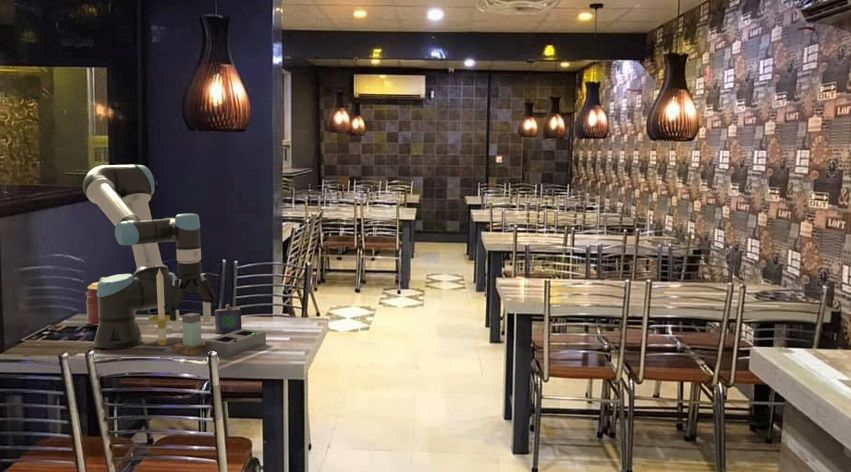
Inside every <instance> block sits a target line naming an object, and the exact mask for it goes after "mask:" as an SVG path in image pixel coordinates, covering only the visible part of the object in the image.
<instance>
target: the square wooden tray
mask: <svg viewBox="0 0 851 472" xmlns="http://www.w3.org/2000/svg"><path fill="white" fill-rule="evenodd" d="M171 352H172V353H174V354H175V353H176V354H181V355H187V356H193V357H194V356H195V355H198V354H199V355H200V354H202V353H205V342H204V340H201V344H199V345H196V346H193V347H191V346H185V345H183V341H182V342H179V343H175V344H172V345H171Z"/></svg>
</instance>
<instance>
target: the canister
mask: <svg viewBox="0 0 851 472" xmlns="http://www.w3.org/2000/svg"><path fill="white" fill-rule="evenodd" d="M104 278H106V277H104V276H103V277H100V278H99V281H100V280H102V279H104ZM99 281H98V282H99ZM98 282H93V283H91V284H89V285H88V286H87V289H88V291H86V292H85V295H86V297H87V298H86V301H85V303H86V315H87V316H86V321H87V324H88V323H90V324H99V315H98V298H97V284H98Z"/></svg>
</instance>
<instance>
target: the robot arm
mask: <svg viewBox="0 0 851 472" xmlns="http://www.w3.org/2000/svg"><path fill="white" fill-rule="evenodd" d="M155 188H156V187H155V180H154V175H153V174H152V172H151V170H150V169H149V168H148V167H147V166H145V165H141V164H115V165H114V164H113V165H111V164H110V165H109V164H107V165H103V164H102V165H99V166H97V167H94V168H92V169H91V170H89V171H88V173H87V174H86V175H85V177H84V179H83V182H82V190H83V192H84V195H85V196H86V198H87V199H88V200H89V201H90V202H91V203H93V204H96V205H97V206H98V208H99V209H100V210H101V211H102V212H103V213H104V214H105V216H106V217H107V218H108V220H110V222H111V223H112V224H113V226H115V228H114V237H115V239H116V242H117V243H118V244H119V245H121V246H131V249H132V251H133V256H134V261H135V265H136V271H135V272H134V273H133V274H132V273H122V274H121V273H120V274H115V275H110V276H106V277H105V278H104V279H102V280H100V279H99V281H98V284H97V298H98V315H99V325H98V326H97V329H96V333H95V337H94V340H93V342H94V343H93V344H94V345H95V346H94V347H95V348H97V347H99V348H98V349H101V348H106V349H105V350H116V349H118V348H119V349H125V347H127V348H132V347H135V346H137V345H139V344H141V343H142V342H143V336H142V333H141V330H140V328H139V325H138V323H137V320H136V312H138V311H144V310H145V311H146V310H152V309H158V300H157V277H156V275H157V274H158V272H159V268H160V271H161V273H162V275H163V284H164V309H165V311H166V310H167V311H169V315H170V321H171V331H175V332H179V331H180V330H181V327H180V326H181V325H180V310H178V309H179V306H180V304H181V302H182V300H183V299H184V297H185V295H186V294H187V293H188V292H190V291H194V290H195V291H196V292H197V293H198V295H199V296H200V297H201V298H202V299H203V302H202V316H203V317H202V319H203V323H204V322H205V323H211V322H212V313H211V312H212V303H214V302H215V300H216V299H217V296H216V293H215V291H214V289H213V287H212V284H211V282H210V280H209V274H208V273H202V272H203V269H202V262H201V260H202V250H201V249H202V246H201V244H202V243H201V224H200V223H201V222H200V215H199V214H196V213H179V214H178V213H177V214H176V216H175V217H165V218H161V219H152V215H151V209H150V206H149V202H150V201H151V199H152V196H153V194H154V192H155ZM166 242H167V243H169V242H175V243H176V244H175V246H176V247H175V249H176V261H177V264H176V266H177V267H176V268H177V270H176V271H177V274H178V277H177V276H176V274H175V273H173V272H169V268H168V266H167V265H165V264H164V263H163V261H162V257H161V253H160V252H161V251H160V249H159V248H160V247H159V245H158V243H166ZM119 349H118V350H119Z"/></svg>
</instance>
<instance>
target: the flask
mask: <svg viewBox="0 0 851 472" xmlns="http://www.w3.org/2000/svg"><path fill="white" fill-rule="evenodd" d="M214 322H215V323H214V327H215V330H214V332H215V334H216V335H219V336H221V335H224V334H227V333H231V332H234V331H237V330H240V329H243V328H242V310H241V308H239V307H238V308H237V307H231V306H230V304H229V303H228V304H225V308H222V309H220V308H219V309H215V310H214Z"/></svg>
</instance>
